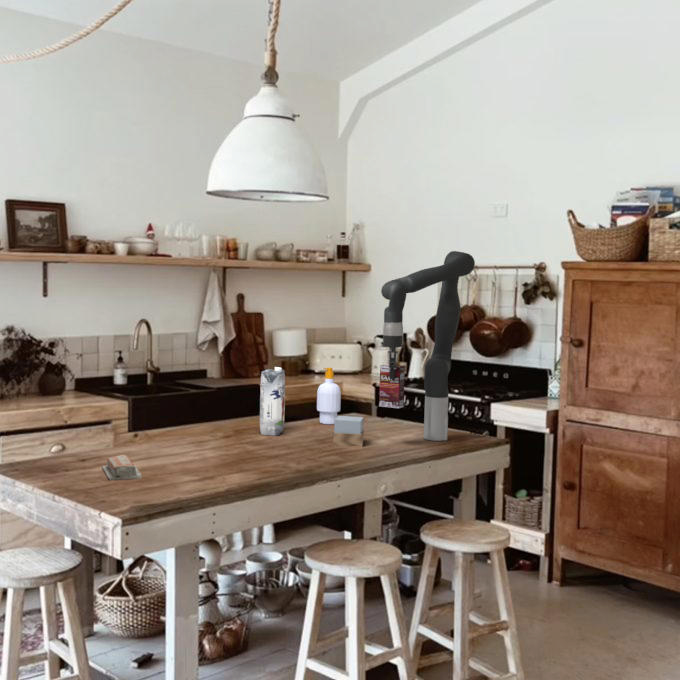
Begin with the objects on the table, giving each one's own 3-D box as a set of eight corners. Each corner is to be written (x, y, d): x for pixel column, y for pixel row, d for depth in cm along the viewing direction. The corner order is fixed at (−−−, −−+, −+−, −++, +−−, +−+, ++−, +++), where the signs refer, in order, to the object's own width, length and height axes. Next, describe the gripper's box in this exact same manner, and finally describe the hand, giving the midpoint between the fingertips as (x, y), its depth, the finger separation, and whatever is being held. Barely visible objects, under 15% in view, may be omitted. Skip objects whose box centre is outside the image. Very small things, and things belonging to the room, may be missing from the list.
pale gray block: (363, 429, 342) (363, 417, 341) (360, 434, 332) (360, 421, 332) (337, 428, 343) (338, 415, 343) (334, 432, 333) (334, 419, 333)
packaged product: (142, 464, 272) (109, 466, 269) (142, 479, 273) (109, 482, 269) (133, 452, 289) (102, 454, 285) (133, 467, 289) (102, 469, 286)
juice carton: (258, 435, 349) (259, 368, 347) (263, 430, 360) (265, 365, 358) (280, 436, 348) (281, 368, 346) (285, 431, 359) (286, 366, 356)
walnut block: (363, 442, 343) (363, 429, 343) (362, 447, 332) (362, 434, 332) (335, 441, 344) (335, 428, 343) (333, 446, 333) (333, 433, 332)
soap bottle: (311, 422, 383) (313, 367, 381) (330, 420, 389) (331, 366, 388) (326, 426, 375) (327, 369, 373) (344, 424, 381) (346, 368, 380)
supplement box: (378, 406, 336) (379, 365, 334) (383, 405, 340) (384, 364, 339) (399, 408, 332) (400, 366, 330) (404, 407, 336) (405, 365, 335)
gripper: (403, 335, 326) (402, 380, 327) (402, 333, 341) (401, 376, 342) (382, 335, 327) (382, 380, 328) (383, 332, 341) (382, 375, 342)
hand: (392, 377), depth 335 cm, fingers closed on supplement box, 6 cm apart
